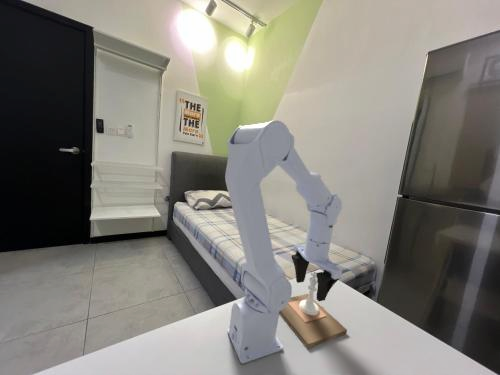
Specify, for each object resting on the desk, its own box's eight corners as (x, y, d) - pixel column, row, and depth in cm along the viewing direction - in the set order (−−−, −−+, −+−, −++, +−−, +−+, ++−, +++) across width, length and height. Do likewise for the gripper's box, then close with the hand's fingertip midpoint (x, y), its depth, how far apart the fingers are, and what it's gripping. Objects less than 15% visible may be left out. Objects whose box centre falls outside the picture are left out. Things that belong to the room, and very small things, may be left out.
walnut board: (307, 348, 42) (308, 343, 42) (272, 304, 54) (273, 300, 54) (346, 333, 47) (347, 329, 47) (306, 297, 59) (307, 293, 59)
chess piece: (313, 318, 49) (320, 280, 48) (295, 307, 52) (301, 271, 51) (321, 309, 53) (327, 273, 52) (304, 299, 56) (309, 265, 55)
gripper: (354, 250, 45) (344, 306, 47) (310, 229, 58) (303, 273, 60) (332, 252, 42) (322, 312, 44) (290, 229, 55) (283, 276, 57)
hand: (309, 290), depth 51 cm, fingers open, 7 cm apart
